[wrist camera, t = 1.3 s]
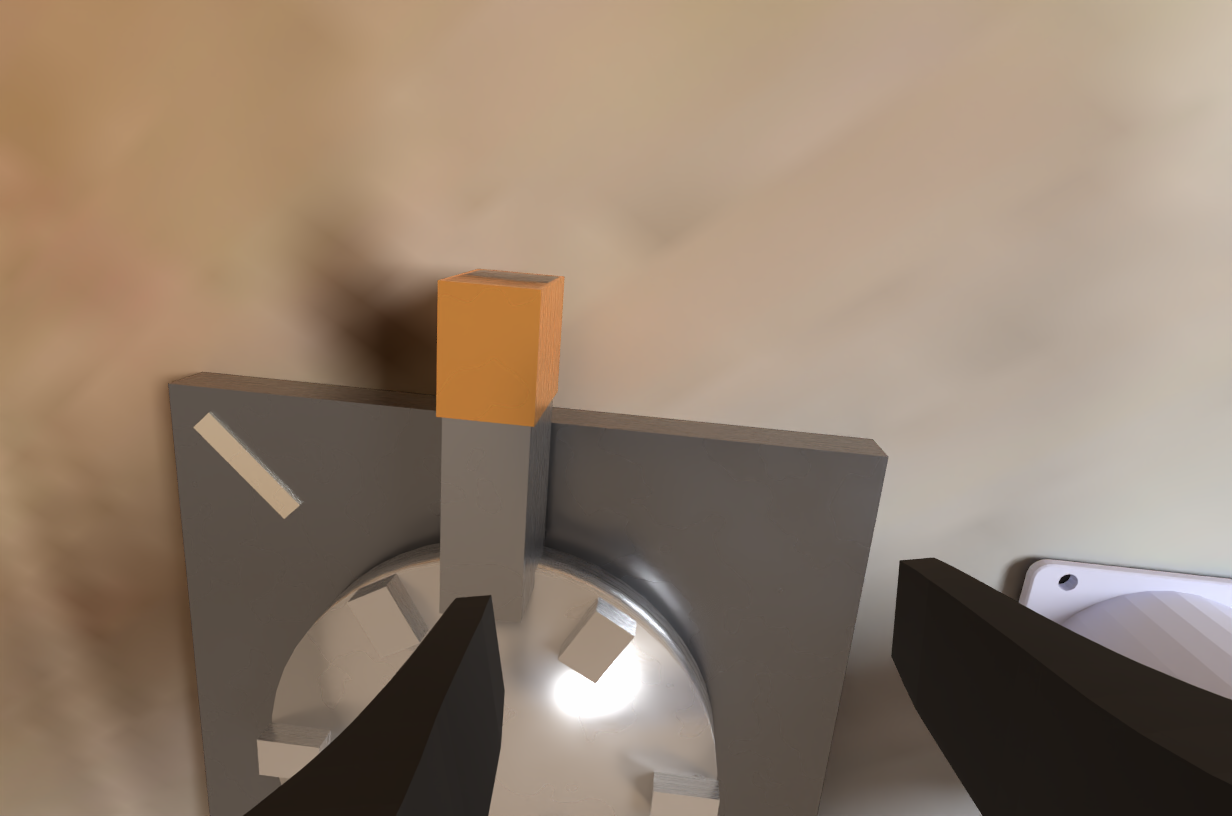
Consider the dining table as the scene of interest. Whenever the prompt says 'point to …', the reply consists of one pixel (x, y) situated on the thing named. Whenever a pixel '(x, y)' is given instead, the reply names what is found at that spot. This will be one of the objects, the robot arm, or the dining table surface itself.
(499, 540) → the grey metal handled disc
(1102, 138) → the dining table surface
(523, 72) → the dining table surface
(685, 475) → the base plate
